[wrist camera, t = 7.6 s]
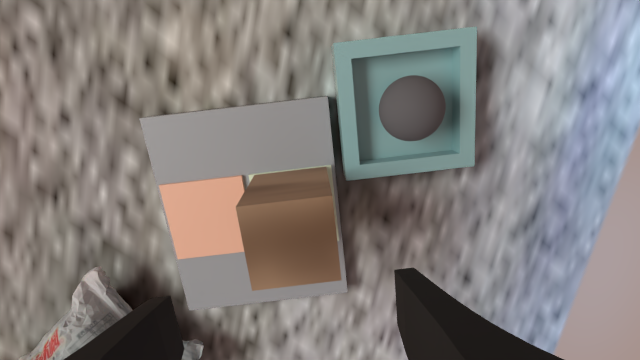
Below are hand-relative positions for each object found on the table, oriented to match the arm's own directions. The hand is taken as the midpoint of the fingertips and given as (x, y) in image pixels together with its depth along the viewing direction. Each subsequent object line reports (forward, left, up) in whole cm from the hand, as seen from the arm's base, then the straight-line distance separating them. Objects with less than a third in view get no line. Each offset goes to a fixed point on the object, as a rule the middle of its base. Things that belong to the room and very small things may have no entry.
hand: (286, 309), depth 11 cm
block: (0, 0, -9) cm, 9 cm away
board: (0, +3, -10) cm, 10 cm away
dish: (+5, -6, -10) cm, 13 cm away
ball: (+5, -6, -9) cm, 12 cm away
